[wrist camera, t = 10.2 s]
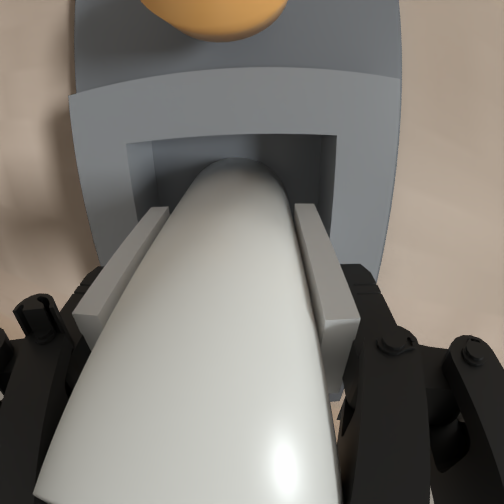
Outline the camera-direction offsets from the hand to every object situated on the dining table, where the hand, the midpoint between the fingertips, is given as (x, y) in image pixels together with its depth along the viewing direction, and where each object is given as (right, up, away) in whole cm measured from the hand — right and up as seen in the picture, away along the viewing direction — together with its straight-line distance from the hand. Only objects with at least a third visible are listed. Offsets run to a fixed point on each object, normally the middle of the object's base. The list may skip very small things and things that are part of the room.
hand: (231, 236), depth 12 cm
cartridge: (0, +2, +3) cm, 3 cm away
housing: (0, +6, +2) cm, 6 cm away
